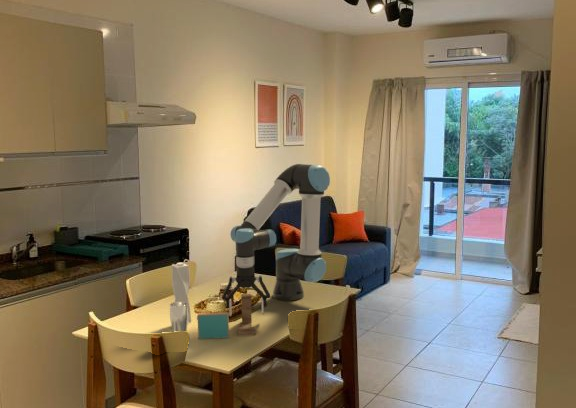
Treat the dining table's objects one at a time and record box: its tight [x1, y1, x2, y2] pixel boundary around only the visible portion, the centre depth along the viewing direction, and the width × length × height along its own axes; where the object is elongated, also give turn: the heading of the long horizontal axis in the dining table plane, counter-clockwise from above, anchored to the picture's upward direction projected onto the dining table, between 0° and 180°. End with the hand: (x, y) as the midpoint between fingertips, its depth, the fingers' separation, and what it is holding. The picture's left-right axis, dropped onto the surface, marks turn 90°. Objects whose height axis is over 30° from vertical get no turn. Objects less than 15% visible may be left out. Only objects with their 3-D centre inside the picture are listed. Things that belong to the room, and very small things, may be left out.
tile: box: [197, 311, 230, 340], centre depth 222 cm, size 12×2×10 cm, turn 94°
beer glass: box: [169, 301, 188, 332], centre depth 219 cm, size 7×7×15 cm
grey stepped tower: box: [237, 293, 256, 337], centre depth 232 cm, size 16×7×12 cm, turn 4°
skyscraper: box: [171, 258, 192, 326], centre depth 237 cm, size 8×8×28 cm
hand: (246, 314), depth 238 cm, fingers open, 13 cm apart
